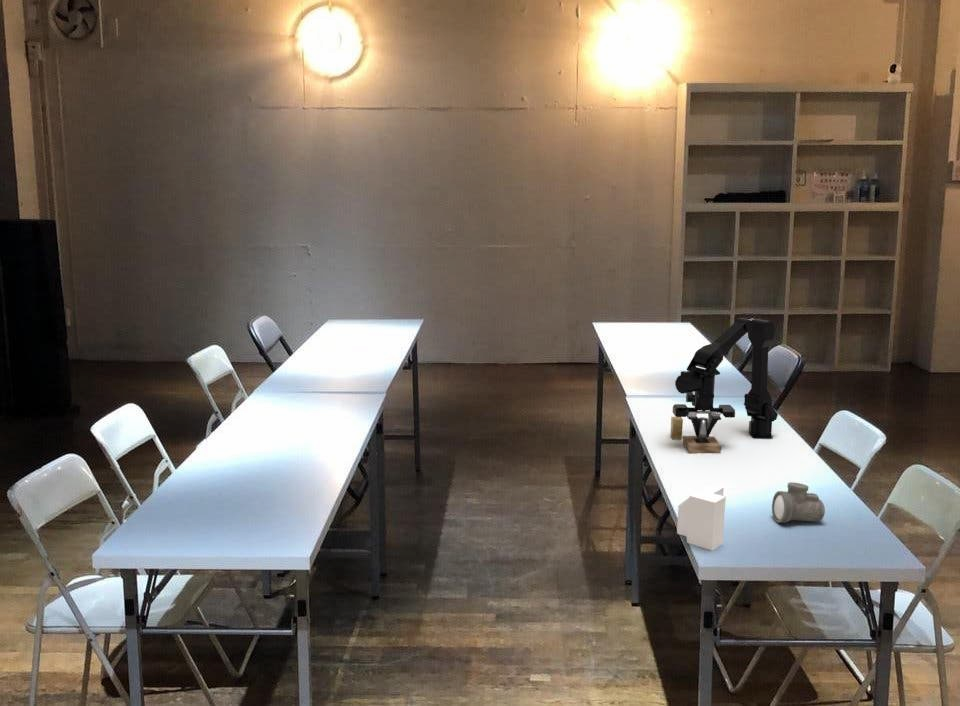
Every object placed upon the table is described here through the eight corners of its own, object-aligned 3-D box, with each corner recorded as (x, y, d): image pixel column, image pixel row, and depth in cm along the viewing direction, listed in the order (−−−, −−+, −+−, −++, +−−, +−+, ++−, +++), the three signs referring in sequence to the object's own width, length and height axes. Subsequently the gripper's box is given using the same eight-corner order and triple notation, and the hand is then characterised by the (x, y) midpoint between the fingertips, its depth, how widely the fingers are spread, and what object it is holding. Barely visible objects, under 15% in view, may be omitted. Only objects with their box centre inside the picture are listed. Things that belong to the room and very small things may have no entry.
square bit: (679, 437, 309) (681, 416, 308) (681, 439, 306) (682, 419, 304) (670, 436, 309) (671, 416, 308) (672, 439, 306) (673, 419, 304)
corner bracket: (712, 550, 220) (715, 502, 217) (670, 537, 227) (672, 491, 225) (732, 537, 227) (736, 490, 225) (691, 525, 235) (694, 480, 232)
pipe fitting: (779, 526, 233) (786, 487, 232) (768, 517, 241) (774, 478, 240) (825, 531, 234) (832, 491, 233) (812, 521, 242) (819, 483, 241)
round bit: (705, 441, 298) (706, 417, 296) (707, 444, 295) (708, 420, 293) (696, 441, 298) (697, 417, 296) (698, 444, 295) (699, 419, 293)
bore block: (713, 444, 301) (713, 436, 301) (720, 453, 292) (721, 445, 291) (682, 443, 302) (682, 436, 301) (688, 453, 292) (689, 445, 291)
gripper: (728, 383, 300) (725, 429, 303) (670, 382, 301) (668, 429, 304) (736, 392, 289) (733, 439, 293) (677, 391, 290) (674, 439, 293)
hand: (702, 436), depth 296 cm, fingers closed on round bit, 3 cm apart
